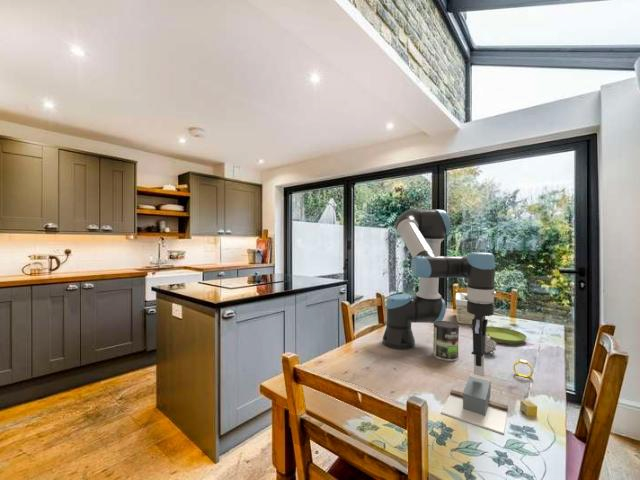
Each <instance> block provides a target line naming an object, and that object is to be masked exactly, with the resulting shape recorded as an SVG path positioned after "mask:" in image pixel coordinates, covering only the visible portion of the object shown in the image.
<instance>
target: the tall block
mask: <svg viewBox="0 0 640 480" xmlns="http://www.w3.org/2000/svg"><path fill="white" fill-rule="evenodd" d="M491 383H492V381H491V379H487V378H482V377H480V376H479V377H478V376H476V375H471V374H470V375H469V376H468V379H467V381H466V384H465V387H464V389H463V392H462V393H463V409H466V410H469V411H472V412H475V413H478V414H481V415H484V416H486V412H487V408H488V404H489V400H490V399H491V396H492V395H491V394H492V393H491V391H492V390H491V386H492V385H491ZM490 401H491V400H490Z"/></svg>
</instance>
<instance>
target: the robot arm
mask: <svg viewBox="0 0 640 480" xmlns="http://www.w3.org/2000/svg"><path fill="white" fill-rule="evenodd" d="M450 230H451V220H450V217H449V215H448V213H447V212H446V211H445V210H444V209H434V208H432V209H430V208H429V209H418V208H417V209H414V208H413V209H408V210H405V211H404V212H402V213H401V214H400V215H399V216H398V217H397V219H396V222H395V231H396V233H397V235H398V236H399V237H400V238H402V239H403V241H404V243H405V245H406V247H407V249H408V251H409V253H410V255H411V257H412V258H411V264H410V268H411V273H412V276H414V277H416V278H419V284H418V288H419V289H418V291H417V292H415V297H413V296H412V295H411V294H408V293H406V294H405V293H401V294H397V293H396V294H393V295H390V296H388V297H387V299H386V325H385V330H384V332H383V336H382V344H383V345H384V346H385V347H388V348H391V349H396V350H409V349H413V348H414V347H415V346H416V340H415V337H414V332H413V331H412V330H413V329H412V323H415V324H417V323H423V324H424V323H426V324H428V323H429V324H433V323H434V322H435V321H444V318H445V316H446V312H447V306H446V301H445V300H444V299H443V298H442V295H441V294H440V293H439V283H440V282H439V281H440V279H442V278H445V279H447V278H448V279H450V278H451V279H466V280H467V286H466V293H467V297H466V300H468V301H467V312H468V313H470V314H474V315H475V317H474V319H472V325H471V326H472V327H471V332H472V351H471V355H473V375H474V376H479V377H484V375H485V355H487V354H488V353H487V352H485V351H484V350H485V340H486V331H487V327H488V322H489V321H488V319H487V318H486V317H490V316H493V315H494V314H495V311H494V310H495V304H494V303H493V302H494V300H495V296H497V292H496V291H495V279H496V276H495V275H496V270H495V269H496V264H495V263H496V262H495V255H494V253H491V252H480V251H479V252H477V251H476V252H475V251H474V252H472V251H471V252H469V253H468V255H457V256H456V255H455V256H448V255H447V256H446V255H445V256H443V255H441V243H442V242H443V241H444V240H445V236H446V235H448V234H449V233H450Z"/></svg>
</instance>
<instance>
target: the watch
mask: <svg viewBox="0 0 640 480" xmlns="http://www.w3.org/2000/svg"><path fill="white" fill-rule="evenodd" d="M517 364H523V365H527V366H529V368H530V373H529V374H527V375H525V374H521V373H519V372H518V371H516V365H517ZM512 369H513V371H514V373H515V375H517V377H523V378H530V377H532V376H533V374H534V369H533V366H532V365H531V364H530V363H529V362H528V360H526V359H519V360H517V361H515V362H514V364H513V367H512Z"/></svg>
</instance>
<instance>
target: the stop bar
mask: <svg viewBox="0 0 640 480" xmlns="http://www.w3.org/2000/svg"><path fill="white" fill-rule="evenodd" d="M450 395H454V396H457V397H460V398H463V392H461V391H458V390H456V389H455V390H454V389H451V390H450V391H449V396H450ZM488 406H491V407H494V408H497V409H501V410H504V411H507V413H508V412H509V410H508V409H509V406H508V405H506V404H502V403H500V402H497V401H493V400H489V404H488Z"/></svg>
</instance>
